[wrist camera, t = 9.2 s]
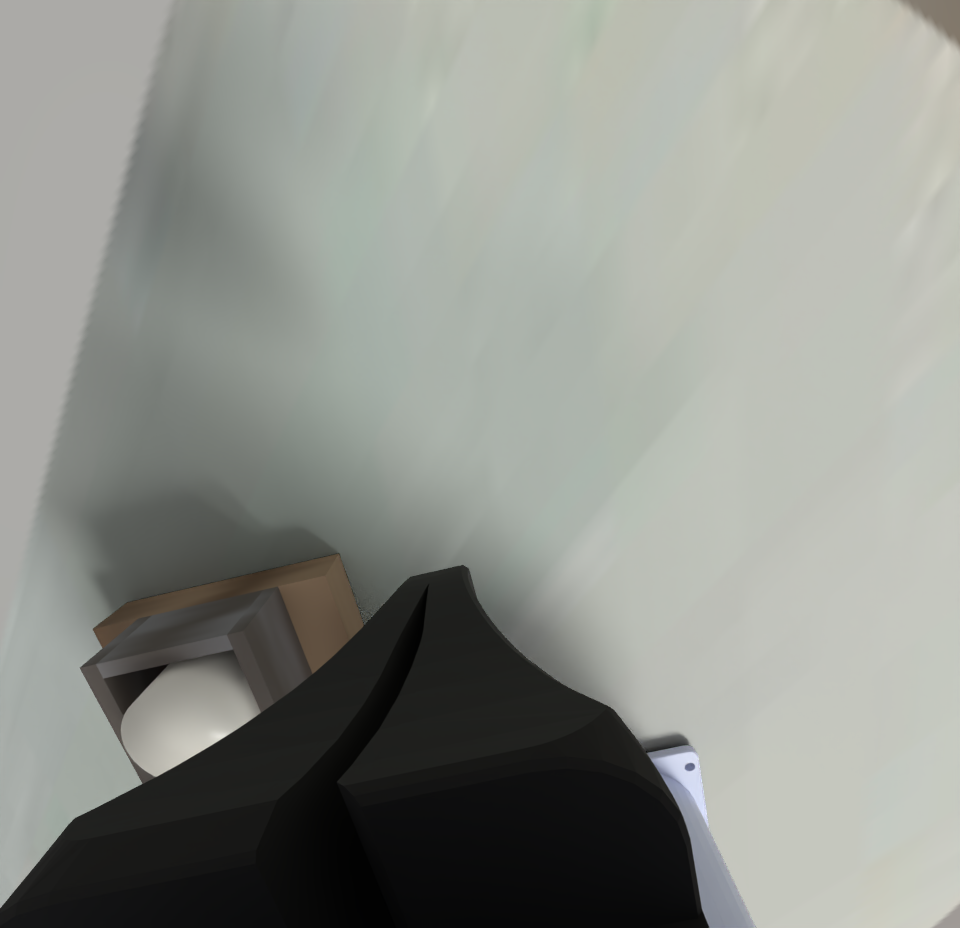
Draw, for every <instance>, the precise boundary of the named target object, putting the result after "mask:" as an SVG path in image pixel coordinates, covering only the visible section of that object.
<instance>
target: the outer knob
mask: <svg viewBox="0 0 960 928" xmlns="http://www.w3.org/2000/svg"><path fill="white" fill-rule="evenodd" d="M260 713H261V712H260V709H259V707H258V705H257V703H256V700H255V698H254V696H253V693H252V691H251V689H250V687H249V684H248V682H247V680H246V678H245V675H244V673H243V671H242V668H241V666H240V664H239V662H238V659H237V657H236V655H235V652H234V650H229V651H224V652H220V653H215V654H211V655H206V656H202V657H197V658H193V659H188V660H184V661H179V662H175V663H171V664H169V665H168V666H167V667H166V668H165V669H164V670H163V671H162V672H161V673H160V674H159V675H158V676H157V677H156V679H155V680H154V681H153V682H152V683H151V684H150V685H149V686H148V687H147V688H146V689H145V690H144V692H143V693H142V694H141V695H140V696H139V697H138V698H137V699H136V700H135V701H134V702H133V703H132V705H131V706H130V707H129V708H128V709H127V711H126V713H125V714H124V717H123V719H122V724H121V737H122V741H123V744H124V747H125V749H126V751H127V752H128V754H129V756H130V757H131V758H132V759H133V761H134V762H135V763H136V764H137V765H138V766H139V767H141V768H142V769H143V770H145V771H146V772H148V773H149V774H151V775H153V776H155V777H157V776H159V775H161V774H163V773H164V772H166V771H168V770H170V769H172V768H173V767H175V766H177V765H179V764H181V763H182V762H184V761H186V760H187V759H189V758H191V757H192V756H194V755H196V754H198V753H199V752H201V751H203V750H204V749H206V748H208V747H210V746H211V745H213V744H214V743H216V742H218V741H219V740H221V739H222V738H224V737H226V736H227V735H229V734H230V733H232V732H234V731H235V730H237V729H238V728H240V727H241V726H243V725H244V724H246V723H247V722H248V721H250V720H251V719H253V718H254V717H256V716H257V715H258V714H260Z"/></svg>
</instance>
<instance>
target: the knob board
mask: <svg viewBox="0 0 960 928" xmlns="http://www.w3.org/2000/svg"><path fill="white" fill-rule="evenodd" d="M363 626H364V624H363V621H362V618H361V615H360V612H359V609H358V606H357V604H356V601H355V598H354V595H353V592H352V589H351V586H350V583H349V581H348V578H347V575H346V572H345V569H344V566H343V563H342V561H341V558H340V555H339V554H335V555H330V556H326V557H322V558H317V559H313V560H309V561H305V562H300V563H296V564H292V565H287V566H283V567H279V568H274V569H270V570H266V571H261V572H257V573H253V574H248V575H244V576H240V577H235V578H231V579H227V580H222V581H218V582H214V583H210V584H205V585H201V586H197V587H192V588H188V589H184V590H179V591H175V592H171V593H166V594H162V595H158V596H153V597H149V598H145V599H140V600H136V601H132V602H127V603H126V604H124V605H123V606H122V607H121V608H119V609H118V610H117V611H115V612H114V613H113V614H111V615H110V616H109V617H108V618H106V619H105V620H104V621H102V622H101V623H100V624H98V625H97V626H96V627H95V628H93V631H94V633H95V635H96V636H97V638H98V640H99V642H100V644H101V646H102V648H103V649H102V650H100V651H99V652H98V653H97V654H96V655H95V656H93V657H92V658H91V659H90V660H89V661H87V662H86V663H85V664H84V665H83V666H82V667H80V669H81V671H82V673H83V675H84V677H85V679H86V680H87V682H88V684H89V686H90V688H91V690H92V691H93V693H94V695H95V697H96V699H97V701H98V702H99V704H100V706H101V708H102V710H103V712H104V713H105V715H106V717H107V719H108V721H109V723H110V724H111V726H112V728H113V730H114V732H115V734H116V735H117V737H118V739H119V741H120V743H121V745H122V747H123V748H124V750H125V752H126V754H127V756H128V758H129V759H130V761H131V763H132V765H133V767H134V769H135V770H136V772H137V774H138V776H139V778H140V780H141V781H142V783H143V784H144V783H145V782H147V781H149V780H151V779H153V778H155V776H153V775H151V774H149V773H148V772H146V771H145V770H143V769H142V768H141V767H139V766H138V765H137V764H136V763H135V762H134V761H133V759H132V758H131V757H130V756H129V754H128V752H127V751H126V749H125V747H124V744H123V741H122V737H121V724H122V719H123V717H124V714H125V713H126V711H127V709H128V708H129V707H130V706H131V705H132V703H133V702H134V701H135V700H136V699H137V698H138V697H139V696H140V695H141V694H142V693H143V692H144V690H145V689H146V688H147V687H148V686H149V685H150V684H151V683H152V682H153V681H154V680H155V679H156V677H157V676H158V675H159V674H160V673H161V672H162V671H163V670H164V669H165V668H166V667H167V666H168V665H169V664H171V663H175V662H179V661H184V660H188V659H193V658H197V657H202V656H206V655H211V654H215V653H220V652H224V651H229V650H234V652H235V655H236V657H237V659H238V662H239V664H240V666H241V668H242V671H243V673H244V675H245V678H246V680H247V682H248V684H249V687H250V689H251V691H252V693H253V696H254V698H255V700H256V703H257V705H258V707H259V709H260V712H263V711H264V710H265V709H267V708H268V707H270V706H271V705H273V704H274V703H275V702H277V701H278V700H280V699H281V698H282V697H284V696H285V695H287V694H288V693H289V692H291V691H292V690H293V689H295V688H296V687H297V686H298V685H300V684H301V683H302V682H303V681H304V680H306V679H307V678H308V677H309V676H311V675H312V674H313V673H314V672H316V671H317V670H318V669H319V668H320V667H321V666H323V665H324V664H325V663H326V662H327V661H328V660H329V659H330V658H332V657H333V656H334V655H335V654H336V653H337V652H338V651H339V650H340V649H341V648H342V647H343V646H344V645H345V644H346V643H347V642H348V641H349V640H350V639H351V638H352V637H353V636H354V635H355V634H356V633H357V632H358V631H359V630H360V629H361V628H362V627H363Z"/></svg>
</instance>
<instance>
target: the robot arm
mask: <svg viewBox="0 0 960 928" xmlns="http://www.w3.org/2000/svg"><path fill="white" fill-rule="evenodd" d="M688 763H689V764H688ZM0 928H756V926H755V924H754V922H753V920H752V918H751V916H750V913H749V911H748V909H747V907H746V905H745V903H744V901H743V899H742V897H741V895H740V893H739V891H738V888H737V886H736V884H735V882H734V880H733V878H732V876H731V874H730V872H729V870H728V868H727V866H726V863H725V861H724V859H723V857H722V855H721V853H720V851H719V849H718V847H717V845H716V843H715V841H714V838H713V836H712V834H711V832H710V830H709V825H708V818H707V811H706V805H705V798H704V791H703V785H702V778H701V771H700V765H699V758H698V755H697V753H696V751H695V749H694V748H693V747H692V746H689V745H684V746H679V747H674V748H669V749H664V750H659V751H654V752H649V753H646V752H645V750H644V749H643V748H642V746H641V745H640V743H639V742H638V741H637V739H636V738H635V736H634V735H633V734H632V733H631V731H630V730H629V729H628V727H627V726H626V725H625V723H624V722H623V721H622V720H621V718H620V717H619V716H618V715H617V713H616V712H615V711H614V710H613V709H612V708H610V707H608V706H607V705H604V704H602V703H600V702H598V701H596V700H594V699H591V698H589V697H587V696H585V695H583V694H580V693H578V692H576V691H574V690H572V689H570V688H568V687H567V686H565V685H563V684H562V683H560V682H558V681H557V680H555V679H554V678H552V677H551V676H550V675H548V674H547V673H546V672H544V671H543V670H542V669H540V668H539V667H538V666H536V665H535V664H534V663H532V662H531V661H530V660H528V659H527V658H526V657H525V656H524V655H523V654H522V653H520V652H519V651H518V650H517V649H516V648H515V647H514V646H513V645H512V644H511V643H510V642H509V641H508V640H507V639H506V638H505V637H504V636H503V634H502V633H501V632H500V631H499V630H498V629H497V627H496V626H495V625H494V624H493V622H492V621H491V620H490V618H489V617H488V616H487V614H486V613H485V611H484V610H483V608H482V606H481V605H480V603H479V601H478V600H477V597H476V593H475V590H474V586H473V582H472V579H471V575H470V571H469V569H468V568H467V567H465V566H464V565H461V566H456V567H452V568H448V569H443V570H439V571H434V572H430V573H426V574H421V575H417V576H412V577H410V578H409V579H407V580H406V581H405V582H404V583H403V584H402V585H401V586H400V587H399V588H398V589H397V591H396V592H395V593H394V594H393V595H392V596H391V597H390V598H389V599H388V600H387V602H386V603H385V604H384V605H383V606H382V607H381V608H380V609H379V610H378V611H377V612H376V614H375V615H374V616H373V617H372V618H371V619H370V620H369V621H368V622H367V623H366V624H365V625H364V626H363V627H362V628H361V629H360V630H359V631H358V632H357V633H356V634H355V635H354V636H353V637H352V638H351V639H350V640H349V641H348V642H347V643H346V644H345V645H344V646H343V647H342V648H341V649H340V650H339V651H338V652H337V653H336V654H335V655H334V656H333V657H332V658H330V659H329V660H328V661H327V662H326V663H325V664H324V665H323V666H321V667H320V668H319V669H318V670H317V671H316V672H314V673H313V674H312V675H311V676H309V677H308V678H307V679H306V680H304V681H303V682H302V683H301V684H300V685H298V686H297V687H296V688H295V689H293V690H292V691H291V692H289V693H288V694H287V695H285V696H284V697H282V698H281V699H280V700H278V701H277V702H275V703H274V704H273V705H271V706H270V707H268V708H267V709H265V710H264V711H263V712H261V713H260V714H258V715H257V716H256V717H254V718H253V719H251V720H250V721H248V722H247V723H246V724H244V725H243V726H241V727H240V728H238V729H237V730H235V731H234V732H232V733H230V734H229V735H227V736H226V737H224V738H222V739H221V740H219V741H218V742H216V743H214V744H213V745H211V746H210V747H208V748H206V749H204V750H203V751H201V752H199V753H198V754H196V755H194V756H192V757H191V758H189V759H187V760H186V761H184V762H182V763H181V764H179V765H177V766H175V767H173V768H172V769H170V770H168V771H166V772H164V773H163V774H161V775H159V776H157V777H155V778H153V779H151V780H149V781H147V782H145V783H144V784H142V785H140V786H138V787H136V788H134V789H132V790H130V791H128V792H126V793H124V794H122V795H120V796H118V797H116V798H114V799H113V800H111V801H109V802H107V803H105V804H103V805H101V806H99V807H97V808H95V809H93V810H91V811H89V812H87V813H85V814H83V815H81V816H79V817H77V818H75V819H74V820H73V821H72V822H71V823H70V824H69V825H68V826H67V827H66V829H65V830H64V831H63V832H62V834H61V835H60V836H59V837H58V839H57V840H56V841H55V842H54V844H53V845H52V846H51V847H50V848H49V850H48V851H47V852H46V853H45V855H44V856H43V857H42V858H41V860H40V861H39V862H38V863H37V865H36V866H35V867H34V868H33V869H32V871H31V872H30V873H29V874H28V876H27V877H26V878H25V879H24V880H23V882H22V883H21V884H20V885H19V886H18V888H17V889H16V890H15V891H14V892H13V894H12V895H11V896H10V897H9V899H8V900H7V901H6V902H5V903H4V905H3V906H2V907H1V908H0Z"/></svg>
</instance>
